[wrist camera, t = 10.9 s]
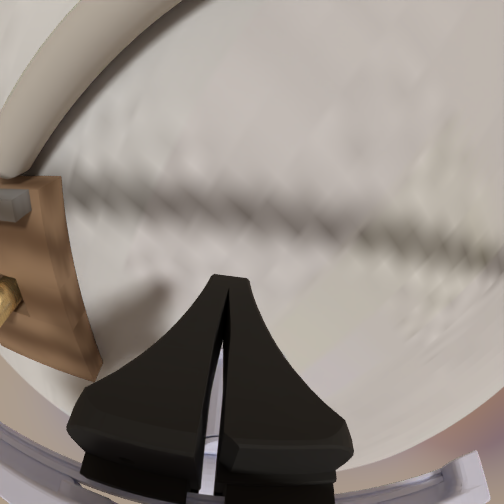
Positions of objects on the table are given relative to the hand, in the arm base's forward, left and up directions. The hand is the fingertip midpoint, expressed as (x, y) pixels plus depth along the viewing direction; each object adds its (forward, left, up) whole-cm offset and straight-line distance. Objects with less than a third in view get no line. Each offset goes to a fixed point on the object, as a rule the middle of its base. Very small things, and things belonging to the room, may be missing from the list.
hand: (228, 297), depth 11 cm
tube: (+11, +10, -10) cm, 18 cm away
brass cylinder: (-10, +22, -9) cm, 26 cm away
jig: (-10, +22, -9) cm, 26 cm away
